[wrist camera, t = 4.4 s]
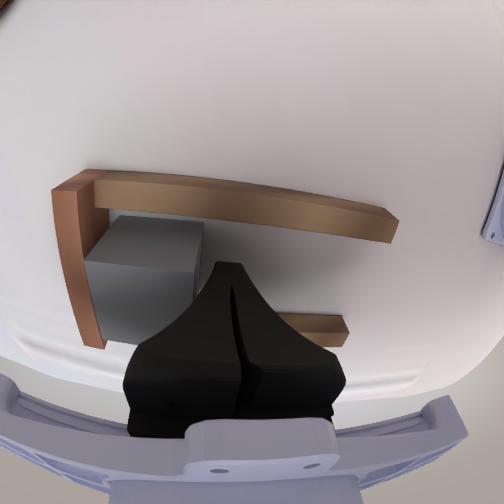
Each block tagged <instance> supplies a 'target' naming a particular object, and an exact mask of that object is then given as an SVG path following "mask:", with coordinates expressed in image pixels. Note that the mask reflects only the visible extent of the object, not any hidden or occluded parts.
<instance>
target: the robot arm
mask: <svg viewBox="0 0 504 504" xmlns="http://www.w3.org/2000/svg"><path fill="white" fill-rule="evenodd" d="M482 236H483V238H484V239H485V240H487V241H490V242H493V243H496V244H499V245H502V246H504V170H503V174H502V177H501V181H500V184H499V188H498V191H497V194H496V197H495V200H494V203H493V206H492V209H491V212H490V215H489V217H488V220H487V223H486V225H485V228H484V230H483V234H482ZM345 385H346V378H345V375H344V373H343V370H342V367H341V365H340V362H339V361H338V359H337V356H336V355H335V354H334V353H332V352H330V351H328V350H326V349H324V348H322V347H320V346H319V345H317V344H315V343H313V342H312V341H310V340H309V339H307V338H306V337H304V336H303V335H301V334H300V333H299V332H297V331H296V330H295V329H294V328H292V327H291V326H290V325H289V324H287V323H286V322H285V321H284V320H283V319H282V318H281V317H280V316H279V315H278V314H277V313H276V312H275V311H274V310H273V309H272V308H271V307H270V306H269V305H268V303H267V302H266V301H265V300H264V298H263V297H262V296H261V294H260V293H259V292H258V290H257V289H256V287H255V286H254V284H253V283H252V281H251V280H250V278H249V276H248V274H247V273H246V271H245V269H244V267H243V265H242V264H241V263H232V262H222V261H217V262H216V263H215V266H214V269H213V271H212V274H211V276H210V278H209V279H208V281H207V283H206V284H205V286H204V288H203V289H202V290H201V292H200V293H199V295H198V296H197V297H196V299H195V300H194V301H193V302H192V303H191V304H190V306H189V307H188V308H187V309H186V310H185V311H184V312H183V313H182V314H181V315H180V316H179V317H178V318H177V319H175V320H174V321H173V322H172V323H171V324H169V325H168V326H167V327H165V328H164V329H163V330H161V331H160V332H158V333H157V334H155V335H154V336H152V337H150V338H149V339H147V340H145V341H144V342H142V343H140V344H139V345H138V346H137V348H136V350H135V351H134V353H133V355H132V357H131V359H130V361H129V364H128V366H127V369H126V373H125V376H124V380H123V390H124V393H125V396H126V399H127V401H128V404H129V407H130V414H129V419H128V424H122V423H117V422H113V421H108V420H105V419H101V418H97V417H93V416H89V415H85V414H82V413H79V412H76V411H72V410H69V409H66V408H63V407H60V406H57V405H54V404H51V403H49V402H46V401H43V400H41V399H38V398H36V397H33V396H31V395H28V394H26V393H24V392H21V391H20V390H19V388H18V387H17V385H16V384H15V383H14V381H13V380H11V379H10V378H9V377H7V376H5V375H3V374H1V373H0V446H2V447H4V448H5V449H7V450H9V451H10V452H12V453H14V454H16V455H18V456H19V457H21V458H23V459H25V460H27V461H29V462H31V463H33V464H35V465H37V466H39V467H41V468H43V469H45V470H47V471H49V472H51V473H54V474H56V475H58V476H60V477H63V478H65V479H68V480H70V481H73V482H75V483H78V484H80V485H83V486H86V487H89V488H92V489H94V490H97V491H101V492H104V493H107V494H109V504H363V501H362V497H361V494H360V490H363V489H366V488H369V487H372V486H375V485H378V484H381V483H383V482H386V481H389V480H391V479H394V478H396V477H399V476H401V475H403V474H406V473H408V472H410V471H413V470H415V469H417V468H419V467H422V466H424V465H426V464H428V463H430V462H432V461H434V460H436V459H437V458H439V457H440V456H442V455H443V454H445V453H446V452H448V451H449V450H451V449H452V448H453V447H455V446H456V445H457V444H459V443H460V442H461V441H463V440H464V439H465V438H467V437H468V435H469V434H468V432H467V430H466V428H465V426H464V423H463V421H462V419H461V417H460V415H459V413H458V411H457V409H456V407H455V406H454V404H453V402H452V400H451V398H450V396H449V395H446V396H443V397H440V398H437V399H434V400H432V401H430V402H428V403H427V404H426V405H425V406H424V407H423V408H422V409H421V411H419V412H415V413H412V414H408V415H405V416H401V417H397V418H394V419H390V420H385V421H381V422H376V423H372V424H367V425H362V426H357V427H351V428H345V429H340V430H335V429H334V426H333V422H332V419H331V416H333V415H334V411H333V408H332V404H333V402H334V401H335V400H336V398H337V397H338V396H339V394H340V393H341V392H342V390H343V388H344V386H345Z"/></svg>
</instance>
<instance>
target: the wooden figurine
mask: <svg viewBox="0 0 504 504" xmlns="http://www.w3.org/2000/svg"><path fill="white" fill-rule="evenodd" d="M7 1H8V0H0V9H1V8H2V7H3V5H4V4H5V3H6V2H7Z"/></svg>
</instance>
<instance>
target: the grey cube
mask: <svg viewBox="0 0 504 504" xmlns="http://www.w3.org/2000/svg"><path fill="white" fill-rule="evenodd" d="M202 230H203V223H202V222H192V221H181V220H169V219H158V218H146V217H133V216H119V217H118V218H117V219H116V221H115V222H114V223H113V224H112V225H111V226H110V228H109V229H108V230H107V231H106V233H105V234H104V235H103V236H102V238H101V239H100V240H99V241H98V243H97V244H96V245H95V246H94V248H93V249H92V250H91V252H90V253H89V254H88V255H87V257H86V258H85V259H84V264H85V269H86V275H87V280H88V284H89V289H90V293H91V298H92V302H93V306H94V310H95V314H96V318H97V321H98V325H99V329H100V332H101V336H102V339H105V340H111V341H116V342H122V343H128V344H135V345H139V344H140V343H142V342H144V341H145V340H147V339H149V338H150V337H152V336H154V335H155V334H157V333H158V332H160V331H161V330H163V329H164V328H165V327H167V326H168V325H169V324H171V323H172V322H173V321H174V320H175V319H177V318H178V317H179V316H180V315H181V314H182V313H183V312H184V311H185V310H186V309H187V308H188V307H189V306H190V304H191V303H192V302H193V301H194V300H195V299H196V297H197V296H198V291H199V273H200V257H201V243H202Z"/></svg>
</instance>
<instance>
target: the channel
mask: <svg viewBox="0 0 504 504" xmlns="http://www.w3.org/2000/svg"><path fill="white" fill-rule="evenodd" d="M51 194H52V205H53V214H54V222H55V229H56V236H57V242H58V248H59V254H60V259H61V264H62V269H63V273H64V278H65V282H66V286H67V290H68V294H69V298H70V302H71V305H72V309H73V312H74V316H75V319H76V322H77V325H78V329H79V332H80V335H81V338H82V340H83V343H84V345H85V346H90V347H94V348H99V349H105V346H106V343H107V341H108V340H105V339H102V336H101V332H100V329H99V325H98V321H97V318H96V314H95V310H94V306H93V302H92V298H91V293H90V289H89V284H88V280H87V275H86V269H85V264H84V259H85V258H86V257H87V255H88V254H89V253H90V252H91V250H92V249H93V248H94V246H95V245H96V244H97V243H98V241H99V240H100V239H101V238H102V236H103V235H104V234H105V233H106V231H107V230H108V229H109V214H108V209H120V210H131V211H142V212H152V213H162V214H172V215H182V216H191V217H200V218H209V219H218V220H226V221H235V222H243V223H251V224H259V225H267V226H275V227H282V228H290V229H297V230H304V231H311V232H318V233H325V234H332V235H339V236H345V237H352V238H358V239H365V240H371V241H377V242H384V243H390V244H391V242H392V239H393V237H394V234H395V232H396V229H397V226H398V224H399V220H398V219H397V218H396V217H394V216H393V215H392V214H391V213H389V212H388V211H387V210H386V209H384V208H380V207H376V206H371V205H367V204H362V203H357V202H353V201H348V200H343V199H338V198H333V197H328V196H323V195H317V194H312V193H306V192H301V191H295V190H289V189H283V188H277V187H270V186H264V185H257V184H250V183H243V182H235V181H227V180H219V179H211V178H202V177H193V176H182V175H172V174H160V173H147V172H132V171H113V170H86V169H85V170H84V171H82V172H80V173H79V174H77V175H75V176H73V177H72V178H70V179H68V180H67V181H65V182H63V183H62V184H60V185H59V186H57V187H55V188H54V189H52V190H51ZM277 314H278V315H279V316H280V317H281V318H282V319H283V320H284V321H285V322H286V323H287V324H289V325H290V326H291V327H292V328H294V329H295V330H296V331H297V332H299V333H300V334H301V335H303V336H304V337H306V338H307V339H309V340H310V341H312V342H313V343H315V344H317V345H319V346H320V347H342V346H343V344H344V342H345V340H346V339H347V337H348V335H349V331H348V328H347V326H346V324H345V322H344V320H343V318H342V316H336V315H308V314H287V313H277Z"/></svg>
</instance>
